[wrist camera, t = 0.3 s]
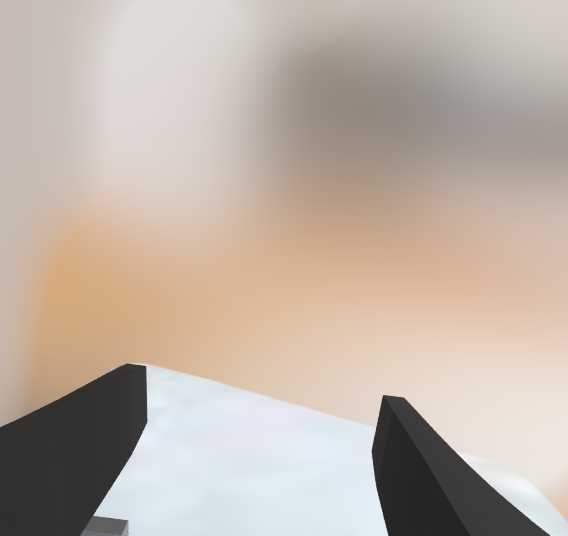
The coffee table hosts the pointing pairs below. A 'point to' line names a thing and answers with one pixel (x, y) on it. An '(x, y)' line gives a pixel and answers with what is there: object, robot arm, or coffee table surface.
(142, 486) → the coffee table surface
